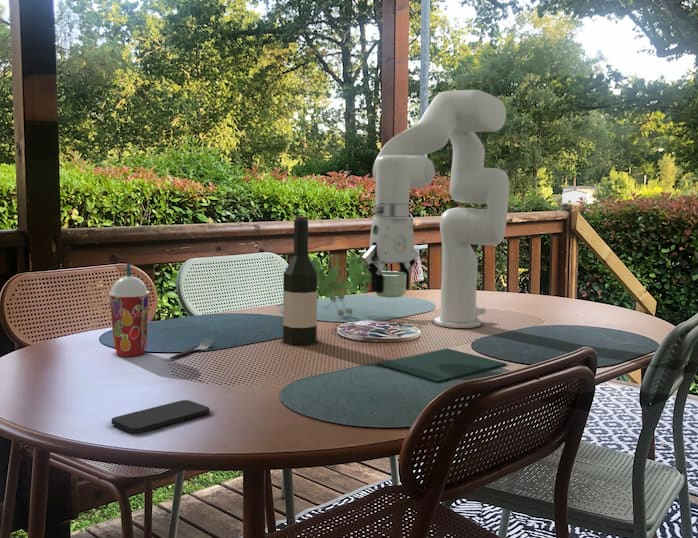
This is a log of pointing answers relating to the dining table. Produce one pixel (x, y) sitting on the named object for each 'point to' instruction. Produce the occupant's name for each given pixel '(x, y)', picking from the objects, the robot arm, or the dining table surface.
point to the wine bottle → (300, 291)
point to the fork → (194, 349)
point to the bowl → (393, 284)
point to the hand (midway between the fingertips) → (390, 289)
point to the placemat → (442, 365)
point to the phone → (159, 416)
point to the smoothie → (129, 315)
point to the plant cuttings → (328, 281)
